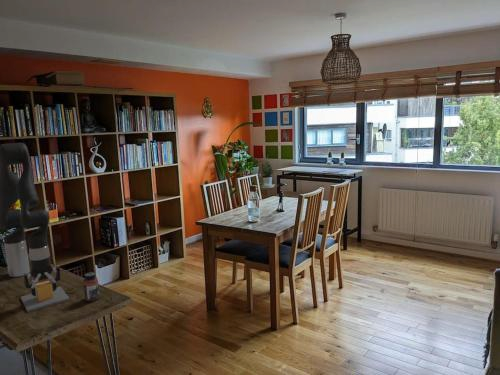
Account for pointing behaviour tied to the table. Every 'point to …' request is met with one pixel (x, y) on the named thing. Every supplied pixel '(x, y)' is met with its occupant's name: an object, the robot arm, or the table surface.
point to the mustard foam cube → (44, 291)
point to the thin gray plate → (33, 303)
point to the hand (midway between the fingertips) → (44, 293)
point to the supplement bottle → (91, 287)
